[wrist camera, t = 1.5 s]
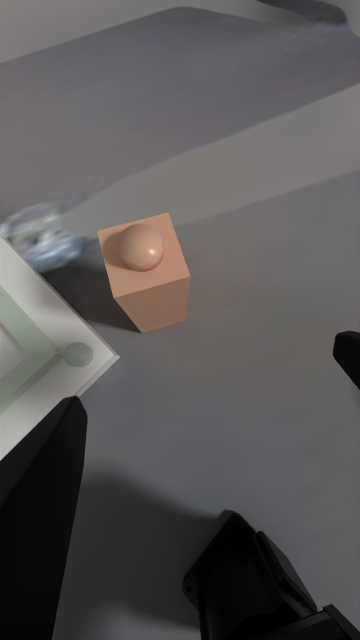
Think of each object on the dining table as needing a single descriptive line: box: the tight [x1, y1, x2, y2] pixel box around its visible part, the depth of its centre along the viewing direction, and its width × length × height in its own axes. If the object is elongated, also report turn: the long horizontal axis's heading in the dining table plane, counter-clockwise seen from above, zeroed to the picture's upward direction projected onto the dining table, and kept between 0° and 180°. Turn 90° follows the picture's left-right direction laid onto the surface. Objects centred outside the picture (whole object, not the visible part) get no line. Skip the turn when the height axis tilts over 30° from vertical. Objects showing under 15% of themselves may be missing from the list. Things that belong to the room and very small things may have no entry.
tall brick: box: [97, 213, 190, 333], centre depth 17 cm, size 4×4×11 cm
